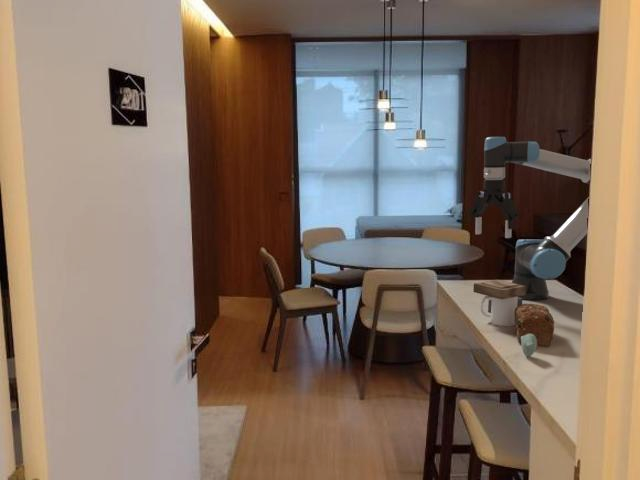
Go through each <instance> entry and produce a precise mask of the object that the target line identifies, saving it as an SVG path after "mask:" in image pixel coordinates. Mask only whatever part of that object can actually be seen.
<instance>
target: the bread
mask: <svg viewBox="0 0 640 480" xmlns="http://www.w3.org/2000/svg"><path fill="white" fill-rule="evenodd" d="M514 314H515V319H514V321H515V325H514V330H515V335H516V339H517V342H518V344H520V345H522V344H521V336H525V335H527V334H533V335H535V337H536V339H537V347H542V348H543V347H545V348H548V347H551V346H552V343H553V339H554V332H555V319H554V317H553V315H552V313H550V310H549V308H548V307H547V306H546V305H540V304H536V303H535V304H534V303H522V305H521V306H519V307H516V308H515V313H514Z"/></svg>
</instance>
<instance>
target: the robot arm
mask: <svg viewBox="0 0 640 480" xmlns="http://www.w3.org/2000/svg"><path fill="white" fill-rule="evenodd" d="M483 148H484V149H483V153H484V154H483V156H484V157H483V159H484V160H483V163H484V164H483V179H484V180H483V190H481V191H477V192H476V198H475V201H474V202H473V205H472V207H471V209H470V212H469V215H470V216H473V217H474V220H473V223H474V224H473V225H474V226H475V228H474V229H475V230H474V231H475V235H481V234H482V228H483V227H482V225H483V223H482V218H483V217H482V214H483V213H484V211H485V210H486V209H487V207H488V206H489V205H495V206H498V207H499V208H500V210H501V211H502V213H503V215H504V216H505V217H506V220H505V222H504V223H505V225H504V226H505V227H504V231H505V232H504V238H505V239H511V238H512V230H513V229H514V220H517V219H519V214H518V212H517V208H516V206H515V203H514V201H513V198H512V197H513V195H512V193H511V192H504V191H505V188H506V186H505V185H506V180H505V178H506V163H508V164H510V163H513V164H517V165H520V166H521V165H522V166H526V167H531V168H534V169H538V170H542V171H546V172H550V173H554V174H558V175H562V176H567V177H571V178H574V179H575V178H576V179H578V180H581V182H582V183H585V184H588V185H590V184H589V183H590V164H591V159H592V158H588V159H582V158H579V157H574V156H570V155H566V154H562V153H559V152H553V151H550V150H546V149H541V148H540V145H539V143H538V142H537V141H507V138H506V137H505V136H488V137H486V138H485V139H484V147H483ZM588 199H589V196H588V197H587V198H586V199H585V200H584V201H583V202H582V204H580V206H579V207H577V209H576V210H575V211H574V212H573V213H572V214H571V215H570V216H569V218H567V219H566V220H565V222H564V223H562V225H560V227H559V228H557V230H556V231H555V232H554V233H553V234H552V235H550V236H545V237H544V238H543V239H532V238H531V239H528V238H527V239H523V238H522V239H518V240H517V241H516V243H515V256H514V257H515V258H514V259H515V261H514V276H513V277H512V281H511V283H515V284H519V285H524V286H526V295H523V296H518V297H519V298H523V300H530V301H541V300H546V299H549V294H550V292H549V289H548V284H547V281H546V280H554V279H556V278H558V277H559V276H561V275H562V274H563V272H564V271H565V269H566V265H567V261H568V260H569V259H571V257H572V256H571V251H572V250H573V249H574V248H575V247H576V246H577V245H578V244H579V242H581V240H582V239H584V237H585V236H586V235H587V234H588V233H587V218H588Z"/></svg>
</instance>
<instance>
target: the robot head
mask: <svg viewBox="0 0 640 480" xmlns="http://www.w3.org/2000/svg"><path fill="white" fill-rule="evenodd" d="M520 345H521V350H522V353H523V354H524V356H525V357H527V358H530V357H531V356H533V355H534V353H535V351H536V349H537V347H538V346H537V339H536V337H535V335H533V334H527V335H525V336H521V344H520Z"/></svg>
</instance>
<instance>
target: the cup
mask: <svg viewBox="0 0 640 480" xmlns="http://www.w3.org/2000/svg"><path fill="white" fill-rule="evenodd" d="M486 300H488V301H489V300H492V306H491V313H489V312H486V311H485V310H484V304H485V301H486ZM517 301H518V296H517V297H512V298H506V299H498V298H494V297H490V296H486V295H484V296H483V298H482V299H481V300H480V306H479V309H480V313H481V315H483V316H484V317H487V318H490V322H491V323H492V325H494V326H497V327H498V326H499V327H513V326H514V327H515V321H514V319H515V314H514V313H515V308H516V307H517Z"/></svg>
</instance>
